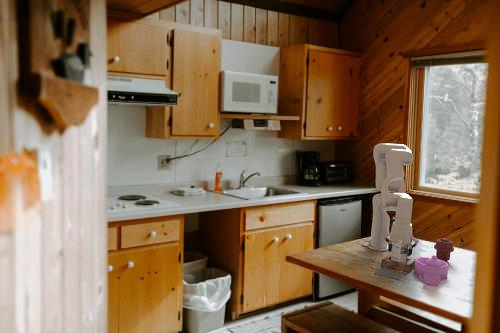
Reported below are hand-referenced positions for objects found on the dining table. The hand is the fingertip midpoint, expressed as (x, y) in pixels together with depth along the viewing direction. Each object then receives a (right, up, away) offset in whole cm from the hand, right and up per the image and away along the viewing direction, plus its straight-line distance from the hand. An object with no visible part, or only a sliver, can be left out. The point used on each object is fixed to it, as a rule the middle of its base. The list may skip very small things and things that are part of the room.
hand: (399, 253), depth 246 cm
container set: (+11, -10, -13) cm, 19 cm away
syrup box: (0, -7, +1) cm, 7 cm away
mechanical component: (+28, -7, +15) cm, 32 cm away
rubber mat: (-8, -8, -11) cm, 16 cm away
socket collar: (0, -7, +1) cm, 7 cm away
